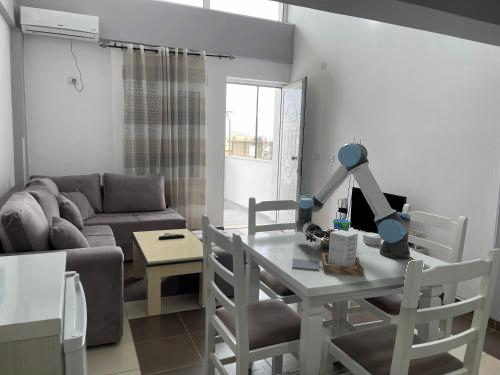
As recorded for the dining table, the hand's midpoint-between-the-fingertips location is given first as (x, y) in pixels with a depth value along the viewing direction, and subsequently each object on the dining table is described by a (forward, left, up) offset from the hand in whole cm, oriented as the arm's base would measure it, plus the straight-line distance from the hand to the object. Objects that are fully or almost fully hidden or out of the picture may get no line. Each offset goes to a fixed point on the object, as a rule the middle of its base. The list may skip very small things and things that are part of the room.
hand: (332, 241), depth 182 cm
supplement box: (-4, +9, -10) cm, 14 cm away
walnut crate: (-4, +9, -10) cm, 14 cm away
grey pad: (+12, +10, -10) cm, 19 cm away
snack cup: (-10, -51, -10) cm, 53 cm away
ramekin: (-27, -41, -10) cm, 51 cm away
